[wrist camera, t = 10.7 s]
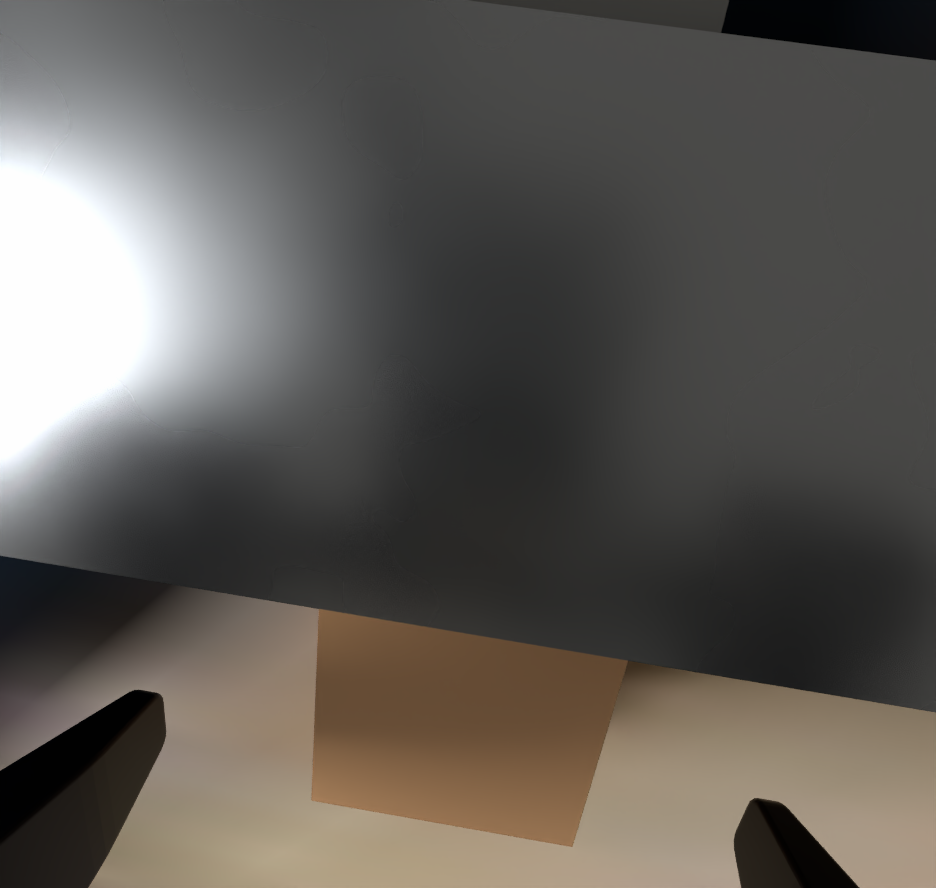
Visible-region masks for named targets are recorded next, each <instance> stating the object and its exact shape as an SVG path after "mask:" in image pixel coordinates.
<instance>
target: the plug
mask: <svg viewBox="0 0 936 888" xmlns="http://www.w3.org/2000/svg"><path fill="white" fill-rule="evenodd" d="M468 1H476V2H484V3H492V4H500V5H507V6H515V7H523V8H531V9H538V10H546V11H554V12H562V13H569V14H577V15H585V16H593V17H600V18H608V19H616V20H624V21H631V22H639V23H647V24H655V25H662V26H670V27H678V28H686V29H694V30H701V31H709V32H717V33H721V31H722V27H723V23H724V19H725V15H726V11H727V7H728V3H729V0H468ZM627 663H628V661H627V660H621V659H615V658H609V657H603V656H597V655H591V654H585V653H579V652H573V651H567V650H561V649H555V648H549V647H544V646H538V645H532V644H526V643H520V642H514V641H508V640H502V639H496V638H490V637H484V636H478V635H472V634H466V633H460V632H454V631H448V630H442V629H436V628H430V627H424V626H418V625H412V624H406V623H400V622H394V621H388V620H382V619H377V618H371V617H365V616H359V615H353V614H347V613H341V612H335V611H329V610H323V609H319V620H318V646H317V672H316V698H315V723H314V749H313V775H312V801H317V802H323V803H328V804H334V805H340V806H345V807H351V808H356V809H362V810H368V811H373V812H379V813H384V814H390V815H396V816H401V817H407V818H413V819H418V820H424V821H429V822H435V823H441V824H446V825H452V826H458V827H463V828H469V829H474V830H480V831H486V832H491V833H497V834H503V835H508V836H514V837H519V838H525V839H531V840H536V841H542V842H547V843H553V844H559V845H564V846H570V847H572V846H573V843H574V840H575V836H576V833H577V830H578V826H579V823H580V820H581V816H582V813H583V810H584V806H585V803H586V800H587V796H588V793H589V790H590V786H591V783H592V780H593V776H594V773H595V770H596V766H597V763H598V760H599V757H600V753H601V750H602V747H603V743H604V740H605V737H606V733H607V730H608V727H609V723H610V720H611V717H612V713H613V710H614V707H615V703H616V700H617V697H618V693H619V690H620V687H621V683H622V680H623V677H624V673H625V670H626V667H627Z"/></svg>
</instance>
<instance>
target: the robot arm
mask: <svg viewBox="0 0 936 888" xmlns="http://www.w3.org/2000/svg"><path fill="white" fill-rule="evenodd" d="M165 737H166V724H165V713H164V702H163V698H162V696H161V695H160V694H158V693H155V692H149V691H143V690H134V691H131V692H129V693H127V694H125V695H124V696H122V697H120V698H119V699H117V700H116V701H114V702H112V703H111V704H109V705H107V706H106V707H104V708H102V709H101V710H99V711H98V712H96V713H94V714H93V715H91V716H89V717H88V718H86V719H84V720H83V721H81V722H79V723H78V724H76V725H75V726H73V727H71V728H70V729H68V730H66V731H65V732H63V733H61V734H60V735H58V736H57V737H55V738H53V739H52V740H50V741H48V742H47V743H45V744H43V745H42V746H40V747H39V748H37V749H35V750H34V751H32V752H30V753H29V754H27V755H25V756H24V757H22V758H21V759H19V760H17V761H16V762H14V763H12V764H11V765H9V766H7V767H6V768H4V769H2V770H1V771H0V888H88V887H89V886H90V884H91V882H92V881H93V879H94V877H95V876H96V874H97V873H98V871H99V869H100V867H101V866H102V864H103V862H104V861H105V859H106V857H107V856H108V854H109V852H110V850H111V848H112V846H113V844H114V842H115V840H116V839H117V837H118V835H119V833H120V831H121V829H122V827H123V825H124V823H125V821H126V819H127V817H128V815H129V813H130V811H131V809H132V807H133V805H134V803H135V801H136V799H137V797H138V795H139V793H140V791H141V789H142V787H143V785H144V783H145V781H146V779H147V777H148V775H149V773H150V771H151V769H152V767H153V765H154V763H155V761H156V759H157V757H158V755H159V753H160V751H161V749H162V747H163V744H164V741H165ZM734 851H735V857H736V862H737V868H738V873H739V878H740V884H741V888H859V887H858V886H857V885H856V883H855V882H854V881H853V880H852V879H851V878H850V877H849V876H848V875H847V873H846V872H845V871H844V870H843V869H842V868H841V867H840V866H839V865H838V863H837V862H836V861H835V860H834V859H833V858H832V857H831V856H830V855H829V854H828V852H827V851H826V850H825V849H824V848H823V847H822V846H821V845H820V844H819V842H818V841H817V840H816V839H815V838H814V837H813V836H812V835H811V834H810V832H809V831H808V830H807V829H806V828H805V827H804V826H803V825H802V824H801V822H800V821H799V820H798V819H797V818H796V817H795V816H794V815H793V814H792V812H791V811H790V810H789V809H788V808H787V807H786V806H784V805H783V804H782V803H780V802H776V801H771V800H765V799H760V798H754V799H753V800H751V801H750V802H749V804H748V806H747V808H746V810H745V813H744V815H743V817H742V819H741V821H740V823H739V826H738V828H737V830H736V833H735V837H734Z"/></svg>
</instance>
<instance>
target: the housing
mask: <svg viewBox="0 0 936 888" xmlns="http://www.w3.org/2000/svg"><path fill="white" fill-rule="evenodd" d="M0 555H1V556H7V557H13V558H19V559H25V560H31V561H37V562H42V563H48V564H54V565H60V566H66V567H72V568H78V569H84V570H90V571H96V572H102V573H108V574H114V575H120V576H126V577H132V578H138V579H144V580H150V581H156V582H162V583H168V584H174V585H180V586H186V587H192V588H198V589H204V590H210V591H215V592H221V593H227V594H233V595H239V596H245V597H251V598H257V599H263V600H269V601H275V602H281V603H287V604H293V605H299V606H305V607H311V608H317V609H323V610H329V611H335V612H341V613H347V614H353V615H359V616H365V617H371V618H377V619H382V620H388V621H394V622H400V623H406V624H412V625H418V626H424V627H430V628H436V629H442V630H448V631H454V632H460V633H466V634H472V635H478V636H484V637H490V638H496V639H502V640H508V641H514V642H520V643H526V644H532V645H538V646H544V647H549V648H555V649H561V650H567V651H573V652H579V653H585V654H591V655H597V656H603V657H609V658H615V659H621V660H627V661H633V662H639V663H645V664H651V665H657V666H663V667H669V668H675V669H681V670H687V671H693V672H699V673H705V674H711V675H717V676H722V677H728V678H734V679H740V680H746V681H752V682H758V683H764V684H770V685H776V686H782V687H788V688H794V689H800V690H806V691H812V692H818V693H824V694H830V695H836V696H842V697H848V698H854V699H860V700H866V701H872V702H878V703H884V704H889V705H895V706H901V707H907V708H913V709H919V710H925V711H931V712H936V61H934V60H926V59H919V58H911V57H903V56H895V55H888V54H880V53H872V52H864V51H857V50H849V49H841V48H833V47H825V46H818V45H810V44H802V43H794V42H787V41H779V40H771V39H763V38H756V37H748V36H740V35H732V34H725V33H717V32H709V31H701V30H694V29H686V28H678V27H670V26H662V25H655V24H647V23H639V22H631V21H624V20H616V19H608V18H600V17H593V16H585V15H577V14H569V13H562V12H554V11H546V10H538V9H531V8H523V7H515V6H507V5H500V4H492V3H484V2H476V1H468V0H0Z"/></svg>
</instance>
